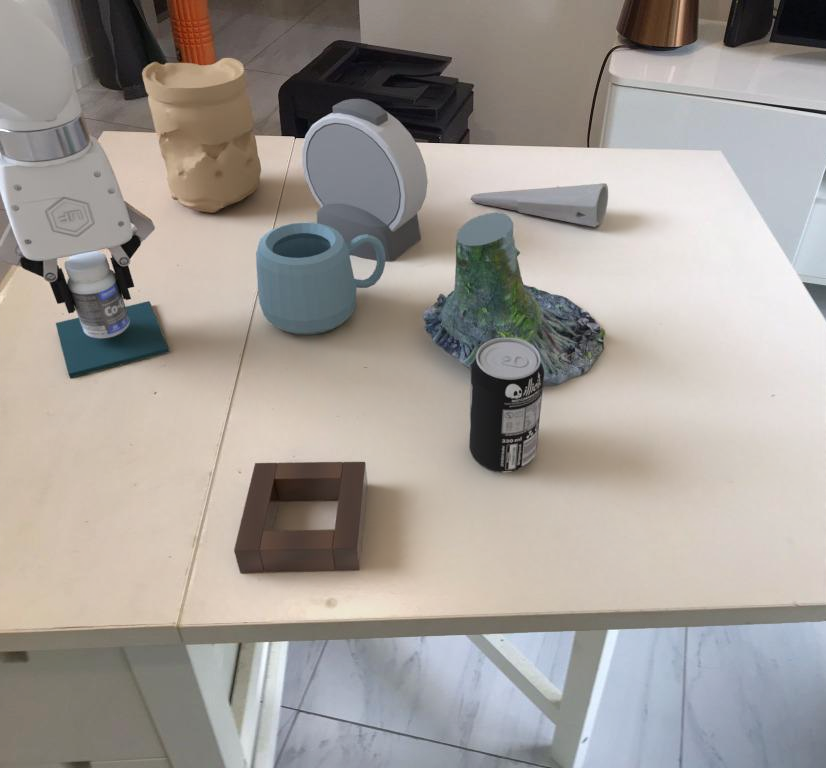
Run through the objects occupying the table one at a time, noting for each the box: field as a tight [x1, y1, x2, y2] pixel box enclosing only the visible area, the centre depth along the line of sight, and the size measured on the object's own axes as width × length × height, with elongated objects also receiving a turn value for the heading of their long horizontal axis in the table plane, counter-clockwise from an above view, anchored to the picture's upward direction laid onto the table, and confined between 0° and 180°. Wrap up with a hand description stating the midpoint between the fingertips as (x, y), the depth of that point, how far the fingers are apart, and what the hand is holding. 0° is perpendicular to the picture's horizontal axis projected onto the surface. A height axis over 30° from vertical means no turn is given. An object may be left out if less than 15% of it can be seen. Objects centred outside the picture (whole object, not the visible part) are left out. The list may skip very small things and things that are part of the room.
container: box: [141, 57, 262, 214], centre depth 109 cm, size 13×13×18 cm
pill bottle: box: [64, 251, 130, 338], centre depth 85 cm, size 5×5×8 cm
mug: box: [255, 222, 386, 336], centre depth 92 cm, size 15×11×10 cm
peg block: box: [233, 461, 368, 574], centre depth 70 cm, size 10×10×3 cm
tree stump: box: [422, 212, 606, 387], centre depth 88 cm, size 18×20×18 cm
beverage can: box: [468, 338, 544, 473], centre depth 75 cm, size 7×7×12 cm
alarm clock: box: [301, 98, 429, 262], centre depth 103 cm, size 16×10×18 cm, turn 62°
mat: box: [55, 300, 170, 379], centre depth 89 cm, size 10×10×1 cm
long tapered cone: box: [470, 183, 609, 228], centre depth 116 cm, size 6×6×19 cm
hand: (97, 298), depth 85 cm, fingers closed on pill bottle, 4 cm apart
